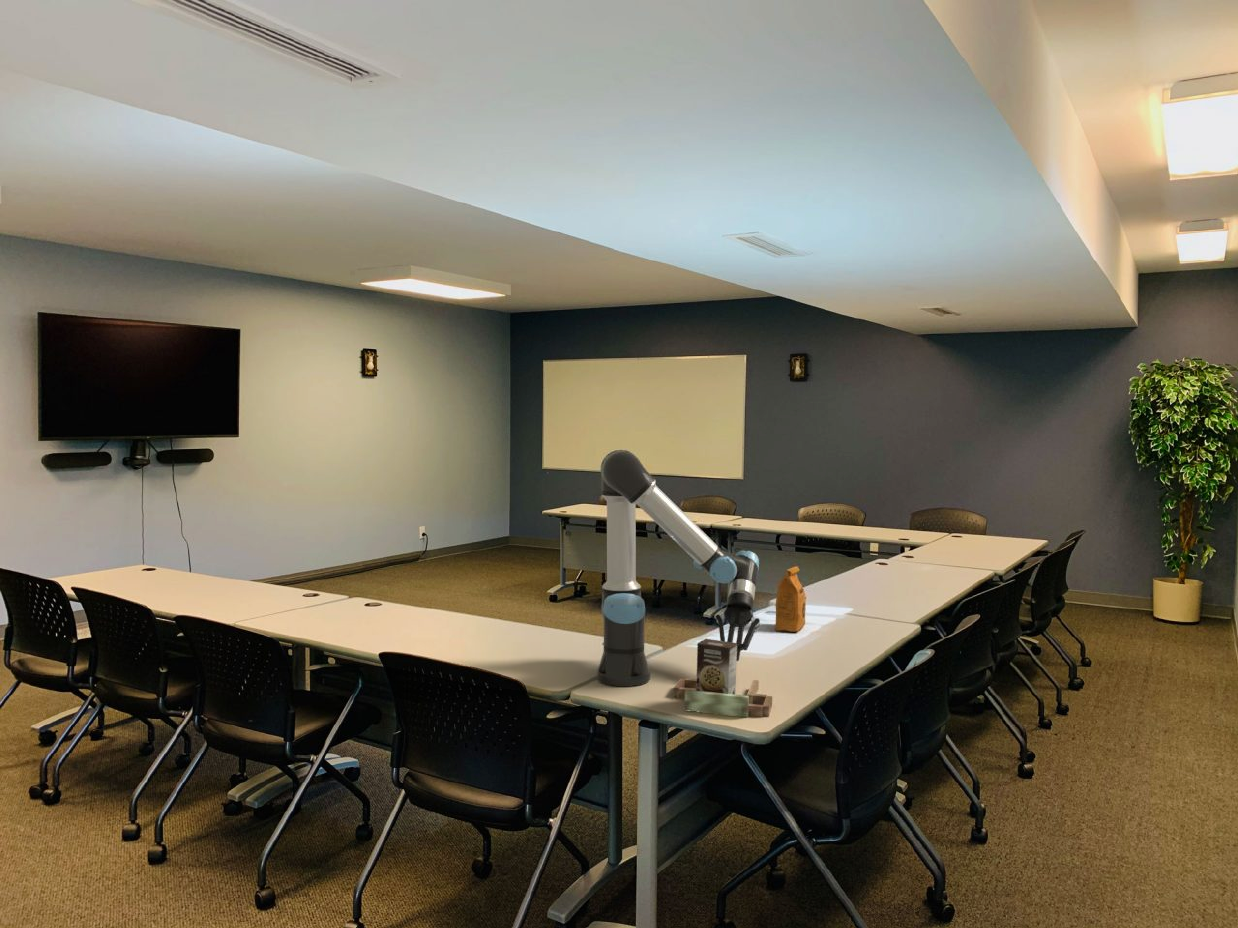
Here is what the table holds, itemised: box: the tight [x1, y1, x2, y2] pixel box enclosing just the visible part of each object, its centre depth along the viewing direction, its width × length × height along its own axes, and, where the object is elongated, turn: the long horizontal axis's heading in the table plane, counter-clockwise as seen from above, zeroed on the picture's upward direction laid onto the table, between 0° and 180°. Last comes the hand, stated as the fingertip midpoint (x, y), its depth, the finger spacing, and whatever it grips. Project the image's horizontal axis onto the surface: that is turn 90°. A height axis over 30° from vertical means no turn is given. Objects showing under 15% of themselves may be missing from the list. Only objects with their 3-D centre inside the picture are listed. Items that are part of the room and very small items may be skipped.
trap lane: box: [673, 677, 773, 718], centre depth 230 cm, size 26×24×5 cm
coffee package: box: [775, 565, 807, 633], centre depth 308 cm, size 10×12×22 cm
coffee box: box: [696, 638, 738, 695], centre depth 226 cm, size 9×6×16 cm
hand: (730, 669), depth 240 cm, fingers closed
